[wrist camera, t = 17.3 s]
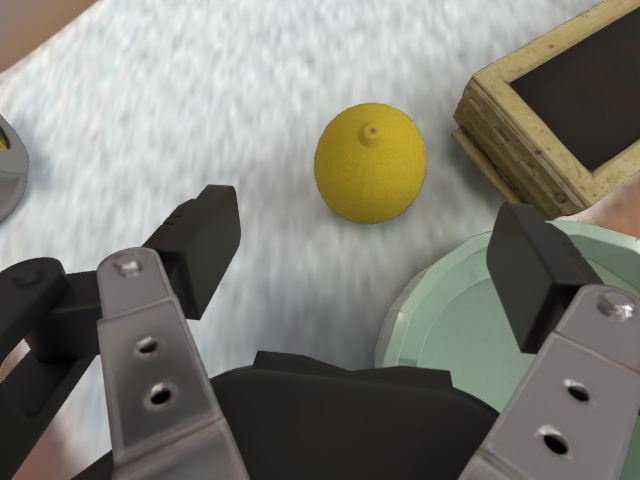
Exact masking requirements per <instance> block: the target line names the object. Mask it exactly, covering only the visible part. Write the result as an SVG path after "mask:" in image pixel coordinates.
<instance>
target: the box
mask: <svg viewBox="0 0 640 480" xmlns="http://www.w3.org/2000/svg"><path fill="white" fill-rule="evenodd" d="M453 118H454V119H455V121H456V122H457V124H458V125H459V128H458V129H457V130H455V131H454V132H453V133H452V134H451V135H450V136H451V137H452V138H453V139H454V140H455V141H456V143H457V144H458V145H459V146H460V147H461V149H462V150H463V151H464V152H465V153H466V154H467V156H468V157H469V158H470V159H471V160H472V161H473V163H474V164H475V165H476V166H477V167H478V169H479V170H480V171H481V172H482V173H483V174H484V176H485V177H486V178H487V179H488V180H489V181H490V183H491V184H492V185H493V186H494V187H495V189H496V190H497V191H498V192H499V193H500V195H501V196H502V197H503V198H504V199H505V201H506V202H507V203H513V204H529V205H533V206H534V207H535V208H536V210H537V211H538V212H539V214H540V215H541V217H542V218H543V219H544V221H552V220H554V219H556V218H558V217H561V216H571V215H574V214H577V213H579V212H582V211H584V210H586V209H588V208H589V207H591V206H593V205H594V204H595V203H597V202H598V201H600V200H601V199H602V198H604V197H605V196H606V195H608V194H609V193H610V192H612V191H613V190H614V189H616V188H617V187H618V186H620V185H621V184H623V183H624V182H625V181H627V180H628V179H629V178H631V177H632V176H633V175H635V174H636V173H637V172H639V171H640V0H605V1H603V2H602V3H600V4H598V5H596V6H594V7H593V8H591V9H589V10H587V11H585V12H584V13H582V14H580V15H578V16H576V17H575V18H573V19H571V20H569V21H568V22H566V23H564V24H562V25H561V26H559V27H557V28H555V29H553V30H552V31H550V32H548V33H546V34H545V35H543V36H541V37H540V38H538V39H536V40H534V41H532V42H530V43H529V44H527V45H525V46H523V47H522V48H520V49H518V50H516V51H515V52H513V53H511V54H509V55H507V56H505V57H503V58H501V59H499V60H497V61H496V62H494V63H492V64H490V65H488V66H487V67H485V68H483V69H481V70H480V71H478V72H476V73H475V74H473V76H472V77H471V79H470V80H469V82H468V83H467V85H466V87H465V89H464V92H463V95H462V98H461V100H460V102H459V103H458V107H457V109H456V111H455V113H454V115H453Z"/></svg>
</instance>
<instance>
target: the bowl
mask: <svg viewBox="0 0 640 480" xmlns="http://www.w3.org/2000/svg"><path fill="white" fill-rule="evenodd" d="M545 222H548V223H551V224H553V225H554V226H556V227H557V228H559V229H560V230H562V231H563V232H565V233H566V234H567V236H568V237H569V238H570V239H571V241H572V242H573V243H574V247H577V249H578V250H579V251H580V252H581V254H582V255H581V256H583V257H584V258H585V259H586V260H587V262H588V263H589V264H590V265H591V267H592V268H593V269H594V271H595V272H596V273H597V275H598V276H599V277H600V278H601V280H602V281H603V282H604V284H606V285H611V286H615V287H618V288H621V289H623V290H626V291H628V292H630V293H632V294H634V295H636V296H637V297H639V298H640V239H638V238H636V237H632V236H629V235H626V234H622V233H619V232H615V231H612V230H608V229H605V228H601V227H598V226H595V225H591V224H588V223H584V222H580V221H545ZM492 231H493V230H492ZM492 231H489V232H486V233H482V234H479V235H476V236H473V237H471V238H469V239H468V240H466V241H465V242H463V243H462V244H460V245H459V246H457V247H456V248H454V249H453V250H451V251H450V252H448V253H447V254H445V255H444V256H442V257H441V258H440V259H438V260H437V261H435V262H434V263H433V264H431V265H430V266H428V267H427V268H426V269H424V270H423V271H421V272H420V273H418V274H417V275H416V276H414V277H413V278H412V279H411V280H410V281H409V282H408V283H407V285H406V286H405V288H404V289H403V290H402V292H401V293H400V294H399V296H398V297H397V299H396V300H395V301H394V303H393V304H392V305H391V307H390V308H389V310H388V312H387V314H386V317H385V320H384V323H383V326H382V329H381V333H380V336H379V339H378V342H377V345H376V348H375V368H383V367H392V366H400V365H402V366H411V367H421V368H430V369H440V370H449V371H450V373H451V378H452V384H453V387H455V388H458V389H460V390H463V391H465V392H467V393H469V394H472V395H473V396H475V397H477V398H479V399H481V400H482V401H484V402H486V403H487V404H489V405H490V406H491V407H493V408H494V409H496V410H497V411H498V412H499V413H501V412H502V410H503V409H504V407H505V405H506V404H507V402H508V401H509V399H510V397H511V396H512V394H513V393H514V391H515V389H516V388H517V386H518V384H519V383H520V381H521V380H522V378H523V376H524V375H525V373H526V371H527V370H528V368H529V367H530V365H531V363H532V362H533V360H534V358H535V357H536V354H525V353H521V352H520V349H519V347H518V344H517V342H516V339H515V337H514V334H513V332H512V329H511V327H510V324H509V322H508V319H507V317H506V314H505V311H504V309H503V306H502V304H501V301H500V299H499V296H498V294H497V291H496V289H495V286H494V284H493V281H492V279H491V276H490V273H489V271H488V268H487V264H486V253H487V247H488V244H489V241H490V238H491V234H492ZM619 480H640V416H639V415H638V416H637V419H636V423H635V426H634V429H633V433H632V436H631V440H630V443H629V446H628V450H627V453H626V457H625V460H624V464H623V467H622V470H621V474H620V477H619Z"/></svg>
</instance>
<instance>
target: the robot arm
mask: <svg viewBox="0 0 640 480" xmlns="http://www.w3.org/2000/svg"><path fill="white" fill-rule="evenodd" d="M240 239H241V227H240V219H239V212H238V204H237V197H236V191H235V188H234V187H233V186H227V185H210V184H209V185H207V186H206V187H205V189H204V190H203V191H202V192H201V193H200V195H199V196H198V197H197V198H196V199H190V200H188V201H186V202H185V203H183V204H181V205H179V206H178V207H177V208H176V209H175V210H174V211H173V212H172V213H171V215H170V217H168V218H167V219H166V220H165V221H164V222H163V225H161V226H160V227H159V228H158V229H157V230H156V231H155V232H154V233H153V234H152V235H151V237H150V238H149V239H148V240H147V241H146V242H145V243H144V244H143V245H142V247H134V248H128V249H124V250H121V251H118V252H116V253H113V254H111V255H110V256H108V257H107V258H105V259H104V260H103V261H102V262H101V263H100V264H99V266H98V268H97V270H96V271H87V272H79V273H71V274H66V272H65V270H64V268H63V266H62V264H61V262H60V261H59V260H57V259H54V258H48V257H41V258H34V259H29V260H25V261H22V262H19V263H17V264H14V265H12V266H10V267H8V268H7V269H5V270H3V271H2V272H0V366H1V364H2V362H3V361H4V359H5V358H6V357H7V355H8V354H9V353H10V352H11V351H12V350H13V349H14V348H15V347H16V346H17V345H18V344H19V342H20V341H21V340H22V339H23V338H24V339H25V341H26V343H27V344H28V346H29V347H30V349H31V350H30V351H29V352H28V353H27V354H26V355H25V356H24V358H23V359H22V360H21V361H20V362H19V363H18V364H17V366H16V367H15V368H14V369H13V370H12V371H11V372H10V374H9V375H8V376H7V377H6V378H5V379H4V380H3V382H2V383H0V480H11V479H12V478H13V476H14V475H15V473H16V472H17V471H18V469H19V468H20V466H21V465H22V463H23V462H24V460H25V459H26V457H27V456H28V455H29V453H30V452H31V450H32V449H33V447H34V446H35V444H36V443H37V441H38V440H39V438H40V437H41V436H42V434H43V433H44V431H45V430H46V428H47V427H48V425H49V424H50V422H51V421H52V419H53V418H54V417H55V415H56V414H57V412H58V411H59V409H60V408H61V406H62V405H63V403H64V402H65V400H66V399H67V398H68V396H69V395H70V393H71V392H72V390H73V389H74V387H75V386H76V384H77V383H78V381H79V380H80V379H81V377H82V376H83V374H84V373H85V371H86V370H87V368H88V367H89V365H90V364H91V362H92V361H93V360H94V358H95V357H96V355H100V354H101V362H102V370H103V378H104V386H105V395H106V403H107V411H108V419H109V427H110V436H111V444H112V450H110V451H109V452H108V453H106V454H105V455H104V456H102V457H101V458H99V459H98V460H97V461H95V462H94V463H93V464H91V465H90V466H89V467H87V468H86V469H84V470H83V471H82V472H80V473H79V474H78V475H76V476H75V477H73V478H72V479H71V480H619V477H620V474H621V470H622V467H623V464H624V460H625V457H626V453H627V450H628V446H629V443H630V440H631V436H632V433H633V429H634V426H635V423H636V419H637V416H638V415H639V416H640V298H639V297H637V296H636V295H634V294H632V293H630V292H628V291H626V290H623V289H621V288H618V287H615V286H611V285H606V284H604V282H603V281H602V280H601V278H600V277H599V276H598V275H597V273H596V272H595V271H594V269H593V268H592V267H591V265H590V264H589V263H588V262H587V260H586V259H585V258H584V257H583V256H581V255H582V254H581V252H580V251H579V250H578V249H577V247H574V243H573V242H572V241H571V239H570V238H569V237H568V236H567V234H566V233H565V232H563V231H562V230H560V229H559V228H557V227H556V226H554V225H553V224H551V223H548V222H545V221H544V219H543V218H542V217H541V215H540V214H539V212H538V211H537V210H536V208H535V207H534V206H533V205H529V204H513V203H504V204H502V206H501V207H500V209H499V212H498V215H497V218H496V221H495V225H494V228H493V231H492V234H491V238H490V241H489V244H488V247H487V253H486V264H487V268H488V271H489V273H490V276H491V279H492V281H493V284H494V286H495V289H496V291H497V294H498V296H499V299H500V301H501V304H502V306H503V309H504V311H505V314H506V317H507V319H508V322H509V324H510V327H511V329H512V332H513V334H514V337H515V339H516V342H517V344H518V347H519V349H520V352H521V353H525V354H536V357H535V358H534V360H533V362H532V363H531V365H530V367H529V368H528V370H527V371H526V373H525V375H524V376H523V378H522V380H521V381H520V383H519V384H518V386H517V388H516V389H515V391H514V393H513V394H512V396H511V397H510V399H509V401H508V402H507V404H506V405H505V407H504V409H503V410H502V412H501V413H499V412H498V411H497V410H496V409H494V408H493V407H491V406H490V405H489V404H487V403H486V402H484V401H482V400H481V399H479V398H477V397H475V396H473V395H472V394H469V393H467V392H465V391H463V390H460V389H458V388H455V387H453V384H452V378H451V373H450V371H449V370H440V369H430V368H421V367H411V366H402V365H400V366H392V367H383V368H374V369H366V370H357V371H350V370H346V369H343V368H340V367H337V366H334V365H331V364H328V363H325V362H322V361H319V360H316V359H313V358H310V357H307V356H304V355H297V354H287V353H278V352H268V351H259V350H258V351H257V354H256V357H255V360H254V363H253V365H249V366H244V367H239V368H235V369H232V370H229V371H226V372H224V373H221V374H219V375H217V376H215V377H213V378H211V379H209V378H208V375H207V373H206V370H205V367H204V365H203V362H202V360H201V357H200V355H199V352H198V349H197V347H196V344H195V342H194V339H193V337H192V334H191V331H190V329H189V326H188V324H187V321H186V319H192V320H200V319H201V317H202V315H203V313H204V311H205V310H206V308H207V306H208V304H209V302H210V300H211V298H212V296H213V294H214V293H215V291H216V289H217V287H218V285H219V283H220V281H221V279H222V277H223V276H224V274H225V272H226V270H227V268H228V266H229V264H230V262H231V261H232V259H233V257H234V255H235V253H236V251H237V249H238V247H239V244H240Z"/></svg>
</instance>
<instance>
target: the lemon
mask: <svg viewBox="0 0 640 480" xmlns="http://www.w3.org/2000/svg"><path fill="white" fill-rule="evenodd" d="M425 171H426V152H425V147H424V142H423V139H422V136H421V134H420V132H419V130H418V128H417V127H416V125H415V124H414V123H413V122H412V121H411V119H410V118H409V117H408V116H407V115H406V114H404V113H403V112H401V111H400V110H398V109H397V108H394V107H391V106H388V105H386V104H379V103H365V104H359V105H356V106H353V107H350V108H348V109H346V110H344V111H343V112H341V113H340V114H338V115H337V116H336V117H335V118H334V119H333V120H332V121H331V122H330V123H329V124H328V125H327V127H326V129H325V130H324V132H323V134H322V136H321V137H320V139H319V142H318V146H317V149H316V153H315V157H314V175H315V179H316V183H317V187H318V190H319V192H320V194H321V195H322V197H323V199H324V201H325V202H326V204H327V205H328V206H329V207H330V208H331V209H332V210H333V211H334V212H335V213H336V214H338V215H340V216H341V217H343V218H345V219H346V220H349V221H352V222H356V223H359V224H376V223H381V222H385V221H387V220H389V219H392V218H394V217H396V216H398V215H399V214H400V213H402V212H403V211H404V210H405V209H406V208H408V207H409V206H410V205H411V203H412V202H413V200H414V199H415V197H416V196H417V195H418V193H419V191H420V188H421V186H422V183H423V180H424V177H425Z"/></svg>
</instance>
